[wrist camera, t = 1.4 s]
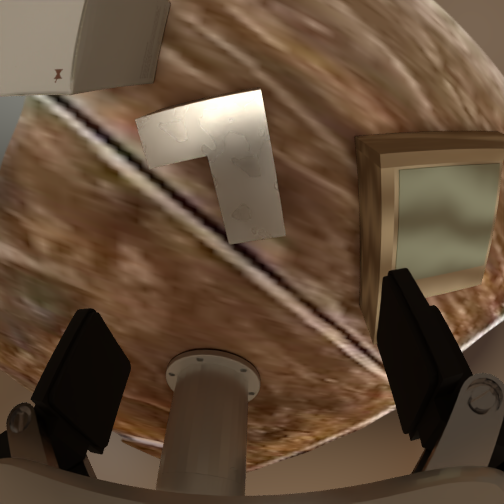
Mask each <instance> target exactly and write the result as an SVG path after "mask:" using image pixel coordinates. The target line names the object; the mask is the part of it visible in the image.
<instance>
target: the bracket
mask: <svg viewBox="0 0 504 504" xmlns="http://www.w3.org/2000/svg"><path fill="white" fill-rule="evenodd" d="M135 121H136V125H137V128H138V132H139V136H140V139H141V143H142V146H143V150H144V153H145V157H146V160H147V164H148V167H149V169H153V168H157V167H161V166H165V165H169V164H173V163H177V162H182V161H186V160H191V159H195V158H200V157H205V156H208V161H209V165H210V169H211V173H212V177H213V181H214V185H215V189H216V194H217V198H218V202H219V206H220V210H221V214H222V218H223V222H224V226H225V230H226V234H227V238H228V242H229V245H230V244H236V243H243V242H249V241H256V240H262V239H269V238H275V237H282V236H286V234H285V227H284V221H283V214H282V208H281V202H280V195H279V189H278V183H277V177H276V171H275V165H274V159H273V154H272V148H271V142H270V137H269V131H268V125H267V120H266V115H265V109H264V104H263V99H262V93H261V89H260V87H257V88H252V89H246V90H240V91H235V92H230V93H225V94H220V95H216V96H211V97H207V98H202V99H198V100H194V101H190V102H186V103H182V104H178V105H174V106H170V107H167V108H163V109H160V110H157V111H155V112H152V113H150V114H147V115H145V116H142V117H140V118H137V119H135Z"/></svg>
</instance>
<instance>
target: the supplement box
mask: <svg viewBox="0 0 504 504" xmlns="http://www.w3.org/2000/svg"><path fill="white" fill-rule="evenodd" d="M169 8H170V2H169V1H167V0H0V97H2V96H25V95H73V94H78V93H84V92H89V91H95V90H101V89H108V88H115V87H122V86H131V85H139V84H152V83H153V82H154V77H155V71H156V66H157V61H158V56H159V52H160V46H161V42H162V38H163V33H164V29H165V24H166V20H167V16H168V12H169Z"/></svg>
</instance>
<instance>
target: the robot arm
mask: <svg viewBox="0 0 504 504" xmlns="http://www.w3.org/2000/svg"><path fill="white" fill-rule="evenodd" d="M377 346H378V349H379V352H380V355H381V358H382V361H383V365H384V368H385V371H386V374H387V378H388V381H389V384H390V388H391V391H392V394H393V398H394V401H395V405H396V408H397V412H398V416H399V419H400V423H401V426H402V430H403V433H404V434H408V433H409V436H410V440H411V441H412V440H415V439H419V438H420V440H421V444H422V447H423V448H425V449H424V451H423V453H422V455H421V457H420V459H419V460H418V462H417V464H416V466H415V468H414V469H413V471H412V473H411V474H410V475H405V476H401V477H395V478H391V479H386V480H382V481H377V482H373V483H368V484H362V485H357V486H351V487H345V488H338V489H331V490H323V491H316V492H307V493H296V494H283V495H263V496H245V479H246V447H247V415H248V401H250V400H252V399H253V398H254V397H255V396H256V395H257V394H258V392H259V389H260V377H259V373H258V372H257V370H256V369H255V368H254V367H253V366H252V365H251V364H250V363H249V362H247V361H246V360H244V359H242V358H240V357H238V356H236V355H233V354H230V353H227V352H222V351H217V350H194V351H188V352H185V353H182V354H180V355H178V356H176V357H175V358H174V359H172V360H171V361H170V363H169V365H168V367H167V371H166V380H167V383H168V385H169V386H170V388H171V389H172V390H173V391H174V394H173V399H172V404H171V409H170V413H169V418H168V423H167V429H166V434H165V439H164V444H163V449H162V455H161V461H160V466H159V472H158V478H157V484H156V490H152V489H145V488H139V487H133V486H127V485H122V484H117V483H112V482H108V481H103V480H99V479H97V477H96V475H95V473H94V471H93V468H92V466H91V464H90V462H89V460H88V457H87V455H86V453H87V450H89V451H90V452H93V453H97V454H103V451H104V448H105V447H106V446H107V445H108V442H109V439H110V435H111V432H112V428H113V425H114V422H115V418H116V415H117V411H118V408H119V405H120V402H121V398H122V395H123V392H124V389H125V386H126V383H127V380H128V377H129V374H130V370H131V364H130V361H129V360H128V358H127V357H126V355H125V354H124V352H123V351H122V349H121V348H120V346H119V345H118V343H117V341H116V340H115V338H114V337H113V335H112V334H111V332H110V330H109V329H108V327H107V325H106V324H105V322H104V321H103V319H102V317H101V315H100V314H99V313H98V312H96V311H95V310H94V309H92V308H89V309H79V310H77V311H76V313H75V315H74V316H73V318H72V320H71V321H70V323H69V325H68V327H67V329H66V330H65V332H64V334H63V336H62V338H61V339H60V341H59V343H58V345H57V347H56V349H55V351H54V352H53V354H52V356H51V358H50V360H49V362H48V364H47V366H46V368H45V370H44V372H43V374H42V376H41V378H40V380H39V382H38V384H37V386H36V388H35V391H34V393H33V395H32V397H31V400H32V401H33V402H34V403H35V404H36V405H35V407H33V406H32V405H31V404H29V403H27V402H26V403H21V404H18V405H17V406H15V407H14V408H13V409H12V410H11V412H10V413H9V415H8V418H7V422H6V424H7V425H6V427H7V430H6V431H4V432H3V433H2V434H0V504H504V384H503V383H502V382H501V381H500V380H499V379H498V378H497V377H495V376H493V375H491V374H486V373H479V374H475V375H473V374H472V372H471V370H470V368H469V366H468V364H467V362H466V360H465V358H464V356H463V354H462V352H461V350H460V348H459V346H458V344H457V342H456V340H455V338H454V336H453V334H452V332H451V330H450V329H449V327H448V325H447V323H446V321H445V319H444V318H443V316H442V314H441V312H440V311H439V309H438V308H437V307H436V306H434V305H433V306H429V304H428V302H427V300H426V298H425V297H424V295H423V293H422V291H421V290H420V288H419V286H418V285H417V283H416V281H415V280H414V278H413V276H412V274H411V273H410V271H409V270H408V269H407V268H401V269H395V270H390V271H389V272H388V276H384V277H383V279H382V291H381V302H380V311H379V320H378V329H377Z"/></svg>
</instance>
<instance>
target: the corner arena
mask: <svg viewBox="0 0 504 504" xmlns="http://www.w3.org/2000/svg"><path fill="white" fill-rule="evenodd" d="M355 145H356V157H357V171H358V188H359V211H360V299H359V305H360V308H361V310H362V313H363V316H364V319H365V322H366V325H367V327H368V330H369V333H370V336H371V339H372V342H373V345H374V344H377V329H378V320H379V311H380V302H381V291H382V279H383V277H384V276H388V272H389V271H390V270H395V269H401V268H407V269H408V270H409V271H410V273H411V274H412V276H413V278H414V280H415V281H416V283H417V285H418V286H419V288H420V290H421V291H422V293H423V295H424V297H425V298H426V297H431V296H435V295H439V294H444V293H448V292H452V291H456V290H461V289H465V288H469V287H473V286H476V285H480V284H481V282H482V279H483V275H484V271H485V267H486V263H487V259H488V254H489V250H490V245H491V241H492V236H493V230H494V225H495V219H496V213H497V207H498V200H499V192H500V183H501V174H502V162H503V161H504V134H502V133H500V132H490V131H433V132H407V133H390V134H376V135H363V136H355Z"/></svg>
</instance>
